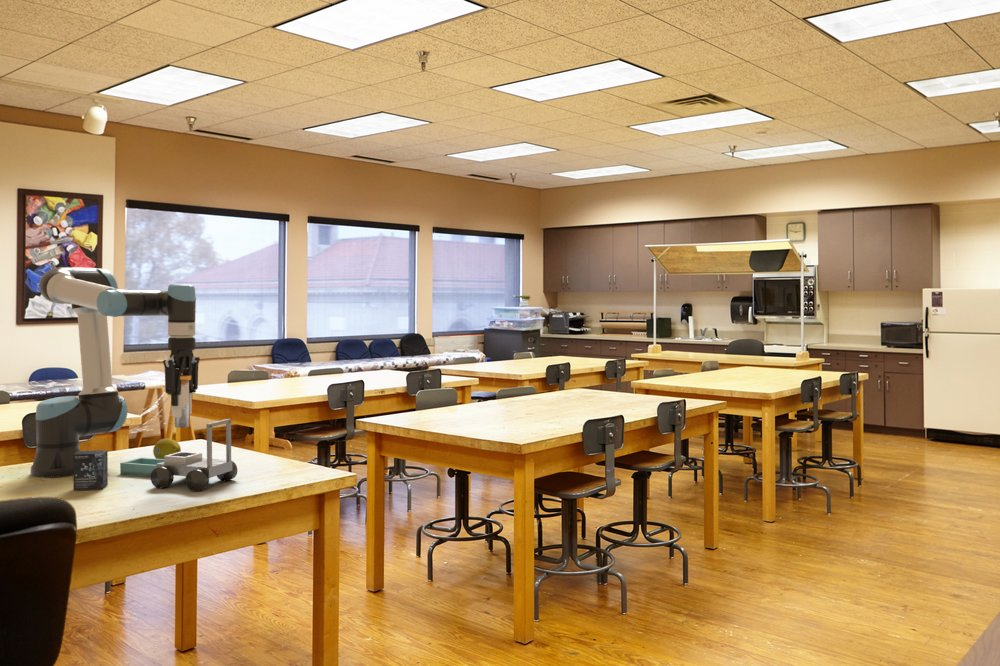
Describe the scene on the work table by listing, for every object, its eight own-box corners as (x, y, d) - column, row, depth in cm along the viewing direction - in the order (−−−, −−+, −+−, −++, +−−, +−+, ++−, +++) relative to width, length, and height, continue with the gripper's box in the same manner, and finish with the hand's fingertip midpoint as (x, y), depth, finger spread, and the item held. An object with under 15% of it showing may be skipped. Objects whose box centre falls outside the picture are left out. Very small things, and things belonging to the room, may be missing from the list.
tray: (120, 474, 251) (120, 463, 251) (141, 468, 259) (140, 457, 259) (155, 477, 247) (155, 465, 247) (175, 471, 256) (174, 460, 255)
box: (73, 491, 229) (72, 454, 228) (79, 486, 234) (78, 450, 234) (103, 489, 231) (102, 453, 230) (108, 485, 236) (107, 449, 236)
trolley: (150, 487, 233) (149, 422, 232) (187, 476, 248) (186, 414, 248) (203, 492, 228) (202, 425, 227) (237, 480, 243) (237, 417, 242)
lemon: (148, 461, 270) (148, 438, 269) (171, 458, 275) (170, 435, 275) (163, 466, 262) (162, 442, 262) (186, 463, 268) (186, 439, 268)
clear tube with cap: (168, 427, 237) (168, 375, 236) (180, 424, 242) (180, 374, 241) (183, 428, 236) (183, 376, 235) (195, 425, 241) (195, 375, 240)
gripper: (172, 338, 228) (173, 420, 229) (211, 335, 244) (210, 412, 246) (150, 337, 230) (151, 419, 232) (190, 335, 247) (190, 410, 248)
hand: (181, 415), depth 239 cm, fingers closed on clear tube with cap, 4 cm apart
